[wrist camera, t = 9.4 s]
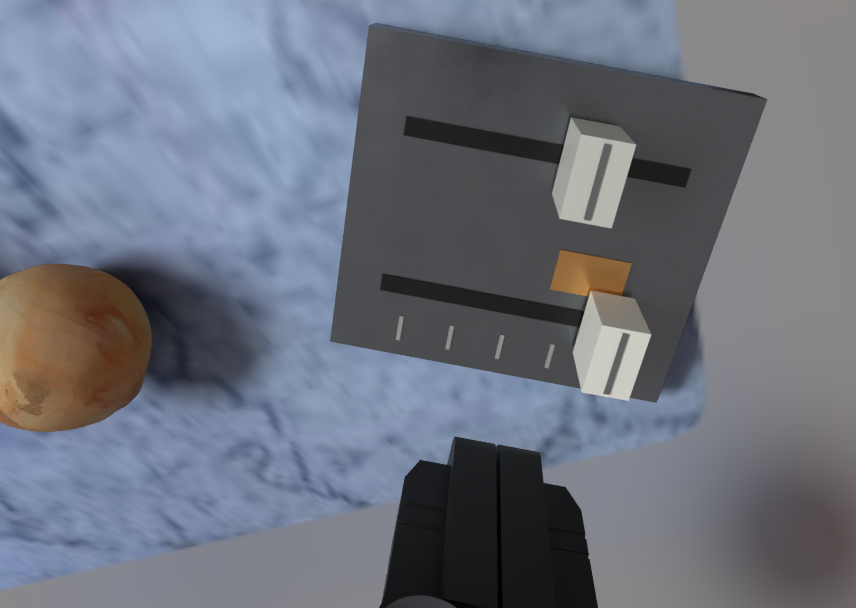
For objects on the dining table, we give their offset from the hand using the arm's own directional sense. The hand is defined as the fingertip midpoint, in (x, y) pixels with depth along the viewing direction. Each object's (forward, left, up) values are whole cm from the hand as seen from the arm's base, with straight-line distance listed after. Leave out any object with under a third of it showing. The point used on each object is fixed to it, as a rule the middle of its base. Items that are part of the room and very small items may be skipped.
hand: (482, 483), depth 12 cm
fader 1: (0, +5, -27) cm, 27 cm away
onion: (+15, -22, -29) cm, 40 cm away
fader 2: (+8, +8, -27) cm, 29 cm away
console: (+4, +3, -29) cm, 29 cm away
